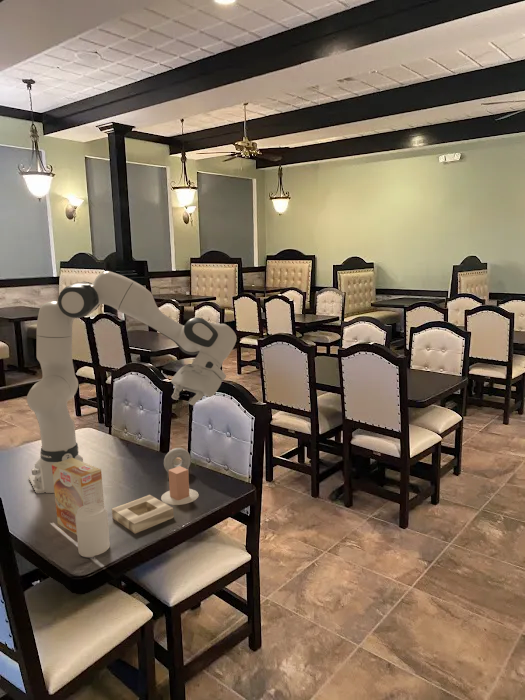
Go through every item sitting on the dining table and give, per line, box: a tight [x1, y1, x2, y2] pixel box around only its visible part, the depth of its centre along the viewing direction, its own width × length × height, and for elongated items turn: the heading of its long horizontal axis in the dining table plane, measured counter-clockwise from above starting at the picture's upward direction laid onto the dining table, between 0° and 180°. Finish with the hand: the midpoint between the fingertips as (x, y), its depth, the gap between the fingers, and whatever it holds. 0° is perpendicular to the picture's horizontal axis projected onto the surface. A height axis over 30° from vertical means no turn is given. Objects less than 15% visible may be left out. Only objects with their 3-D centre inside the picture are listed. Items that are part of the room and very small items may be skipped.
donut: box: [163, 447, 192, 473], centre depth 192 cm, size 10×4×10 cm, turn 117°
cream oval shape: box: [160, 488, 200, 506], centre depth 173 cm, size 12×12×1 cm
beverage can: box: [75, 503, 111, 558], centre depth 143 cm, size 8×8×12 cm
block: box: [168, 466, 190, 500], centre depth 172 cm, size 4×4×9 cm
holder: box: [111, 494, 175, 534], centre depth 159 cm, size 13×13×4 cm
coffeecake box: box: [52, 458, 105, 536], centre depth 154 cm, size 15×7×20 cm, turn 51°
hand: (182, 401), depth 174 cm, fingers open, 8 cm apart
